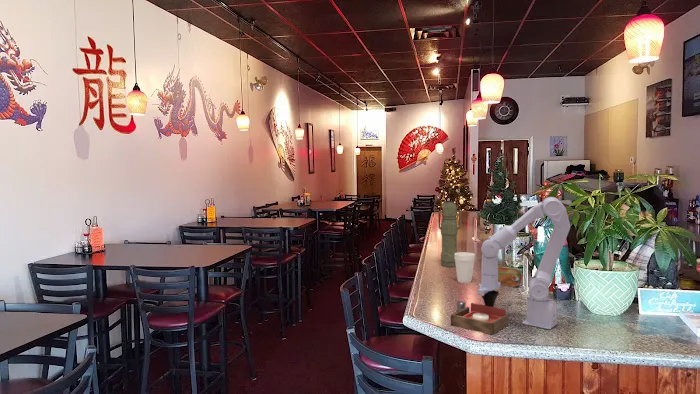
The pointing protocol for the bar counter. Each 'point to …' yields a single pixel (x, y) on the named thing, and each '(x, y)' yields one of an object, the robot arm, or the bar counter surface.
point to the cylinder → (461, 305)
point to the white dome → (481, 317)
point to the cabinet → (477, 322)
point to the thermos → (449, 233)
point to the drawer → (486, 311)
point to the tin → (509, 276)
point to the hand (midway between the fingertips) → (489, 311)
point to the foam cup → (464, 266)
